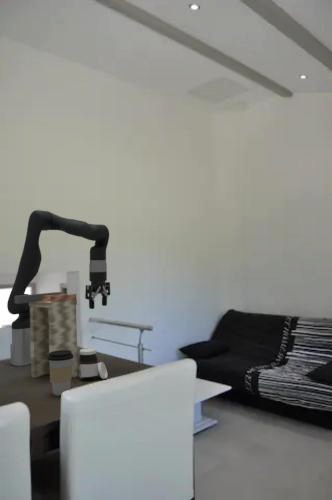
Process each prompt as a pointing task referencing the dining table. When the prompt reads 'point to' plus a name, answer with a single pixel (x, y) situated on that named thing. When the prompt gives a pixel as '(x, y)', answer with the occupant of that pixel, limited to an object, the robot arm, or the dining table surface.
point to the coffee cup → (60, 370)
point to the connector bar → (32, 297)
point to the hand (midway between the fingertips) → (98, 307)
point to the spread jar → (90, 365)
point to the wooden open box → (52, 331)
